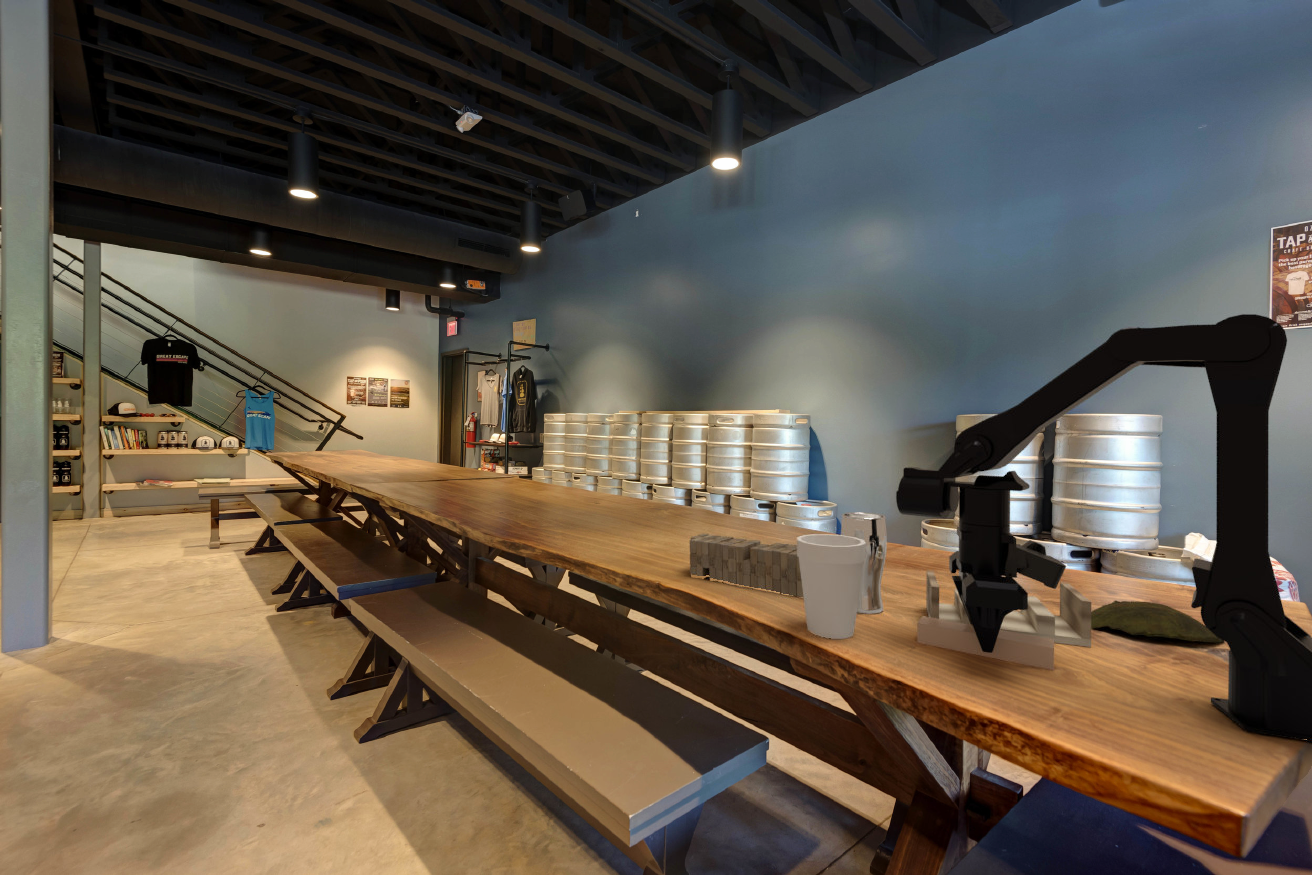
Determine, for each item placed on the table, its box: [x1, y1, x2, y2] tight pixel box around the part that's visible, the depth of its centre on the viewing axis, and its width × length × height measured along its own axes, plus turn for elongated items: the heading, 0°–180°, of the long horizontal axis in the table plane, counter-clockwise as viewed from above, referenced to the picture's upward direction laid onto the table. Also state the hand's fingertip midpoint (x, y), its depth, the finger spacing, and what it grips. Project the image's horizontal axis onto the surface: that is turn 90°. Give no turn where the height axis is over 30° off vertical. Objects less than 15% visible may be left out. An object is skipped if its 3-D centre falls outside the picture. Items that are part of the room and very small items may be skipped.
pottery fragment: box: [1091, 600, 1226, 644], centre depth 80 cm, size 13×14×4 cm
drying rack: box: [925, 570, 1092, 648], centre depth 82 cm, size 10×19×6 cm, turn 68°
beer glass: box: [840, 512, 888, 615], centre depth 90 cm, size 7×7×15 cm
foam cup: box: [796, 533, 866, 640], centre depth 79 cm, size 10×9×13 cm
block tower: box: [689, 533, 804, 599], centre depth 104 cm, size 8×8×29 cm
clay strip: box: [916, 615, 1055, 671], centre depth 72 cm, size 15×4×3 cm, turn 55°
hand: (982, 642), depth 72 cm, fingers open, 6 cm apart
